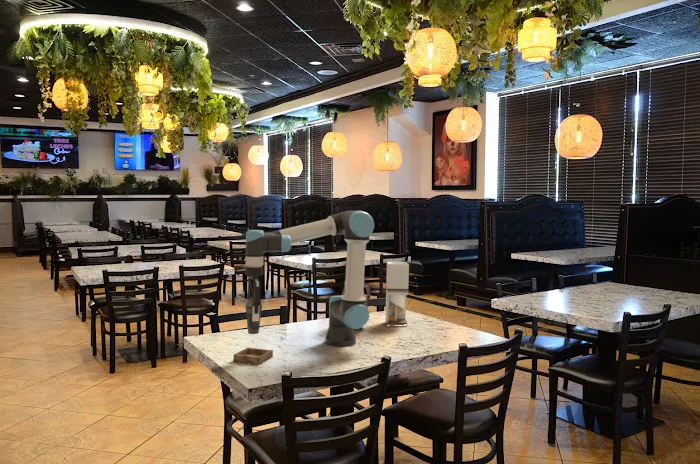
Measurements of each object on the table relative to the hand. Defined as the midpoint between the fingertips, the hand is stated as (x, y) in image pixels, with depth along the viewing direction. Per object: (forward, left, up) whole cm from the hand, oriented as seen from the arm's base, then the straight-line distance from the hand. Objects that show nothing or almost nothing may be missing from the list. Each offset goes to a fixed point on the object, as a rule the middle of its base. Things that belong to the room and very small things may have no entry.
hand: (253, 318), depth 233 cm
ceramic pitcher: (-24, -72, -18) cm, 78 cm away
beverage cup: (0, 0, -6) cm, 6 cm away
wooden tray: (0, 0, -18) cm, 18 cm away
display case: (-43, -90, -18) cm, 101 cm away
